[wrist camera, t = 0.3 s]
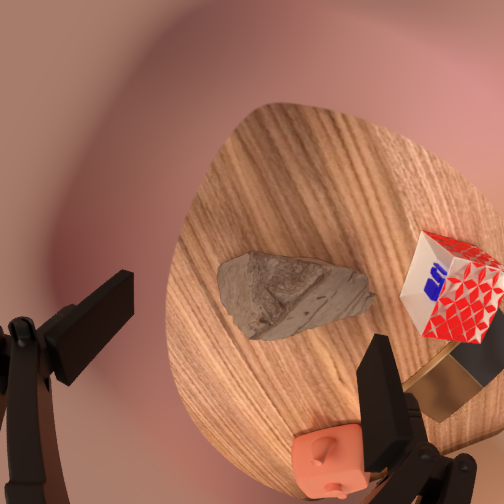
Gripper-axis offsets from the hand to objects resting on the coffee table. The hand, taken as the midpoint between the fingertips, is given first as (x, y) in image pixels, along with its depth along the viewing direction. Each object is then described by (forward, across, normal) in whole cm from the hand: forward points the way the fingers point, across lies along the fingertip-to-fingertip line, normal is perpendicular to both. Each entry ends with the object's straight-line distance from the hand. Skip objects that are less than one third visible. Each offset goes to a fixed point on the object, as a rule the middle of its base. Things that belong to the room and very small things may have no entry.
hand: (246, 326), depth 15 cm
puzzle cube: (+18, +19, 0) cm, 26 cm away
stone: (+17, +2, -4) cm, 18 cm away
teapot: (+16, +16, -30) cm, 38 cm away
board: (+17, +30, -13) cm, 37 cm away
